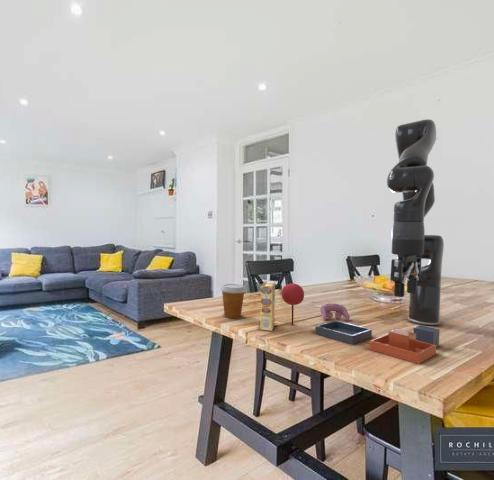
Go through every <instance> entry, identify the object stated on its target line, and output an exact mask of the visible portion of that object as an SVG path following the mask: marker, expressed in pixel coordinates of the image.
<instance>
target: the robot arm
mask: <svg viewBox="0 0 494 480" xmlns="http://www.w3.org/2000/svg"><path fill="white" fill-rule="evenodd" d="M394 134H395V135H394V136H395V143H396V144H395V145H396V152H397V157H398V162H397V163H396V164H395V165H394V166H393V167H392V168H391V169H390V171H389V172H388V175H387V178H386V186H387V188H388V189H389V190H390V191H391V192H392V193H397V194H398V193H401V194H402V195H401V196H402V200H399V201H397V202H395V203H394V205H393V220H392V221H393V223H392V228H391V246H390V247H391V249H390V250H391V251H390V252H391V254H392V255H397V258H396V259H395V258H393V259H391V263H390V281H391V282H393V283H394V290H393V291H394V293H393V294H394V295H393V296H394V297H397V298H404V297H405V290H406V292H407V293H408V294H409V301H408V303H409V304H408V317H407V318H408V319H407V320H408V321H409V322H411V323H414V324H417V325H421V326H430V327H431V326H432V327H433V326H434V327H435V326H439V325H440V312H441V308H440V307H441V289H442V288H441V287H442V271H443V270H442V268H443V257H444V249H445V247H444V246H445V243H444V238H443V237H442V236H441V235H438V234H425V233H426V231H425V230H426V229H425V223H424V221H425V217H426V216H427V215H428V214H429V212H430V211H431V210H432V208H433V206H434V204H435V203H436V202H435V201H436V199H435V198H436V197H435V195H436V194H435V185H434V179H435V173H434V170H433V169H432V167H430V166H429V165H428V158H429V155H430V154H431V151H432V150H433V148H434V146H435V144H436V141H437V127H436V123H435V121H434V120H433V119H429V118H428V119H422V120H416V121H412V122H408V123H404V124H403V123H402V124H399V125H398V126H397V127H396V128H395V133H394ZM422 260H429V262H428V263H427V264H425V265H423V266H422ZM405 283H406V284H405ZM405 285H406V286H405ZM405 287H406V289H405Z"/></svg>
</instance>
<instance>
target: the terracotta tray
mask: <svg viewBox="0 0 494 480" xmlns="http://www.w3.org/2000/svg"><path fill="white" fill-rule="evenodd" d="M368 349H369V350H370V351H374V352H377V353H380V354H383V355H387V356H391V357H395V358H397V359H401V360H405V361H407V362H410V363H411V362H412V363H415V364H418V365H419V364H422V363H424V362H425V361H426V360H428V359H430V358H432V357H433V356H435V355H437V347H436V345H434V344H430V343H425V342H421V341H417V340H416V351H414V352H412V351H409V350H405V349H401V348H398V347H394V346H390V345H389V333H386V334H383V335H381V336H378V337H375V338H373V339H371V340H369V348H368Z"/></svg>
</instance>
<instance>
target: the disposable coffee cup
mask: <svg viewBox="0 0 494 480" xmlns="http://www.w3.org/2000/svg"><path fill="white" fill-rule="evenodd" d="M220 290H221V292H222V293H221V294H222V304H223V314H224V317H225V318H229V319H239V318H241V317H242V311H243V310H242V309H243V304H244V296H245V292H246V288H245V285H244V284H237V283H236V284H235V283H225V284H222V285H221V288H220Z"/></svg>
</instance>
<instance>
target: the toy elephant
mask: <svg viewBox="0 0 494 480" xmlns="http://www.w3.org/2000/svg"><path fill="white" fill-rule="evenodd" d="M319 310H320V314H321V317H322V319H323V320H324V321H326V320H327V319H332V318H335V319H336V320H340V319H341V318H342V316H343V318H344V319H345V320H346V321H347V322H349V321H350V314H349V312H348V310H347V308H346V307H345V306H344V305H343V304H338V303H334V302H333V303H331V302H330V303H325V304H323V305H321V306H320V308H319ZM333 312H335V313H333Z"/></svg>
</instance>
